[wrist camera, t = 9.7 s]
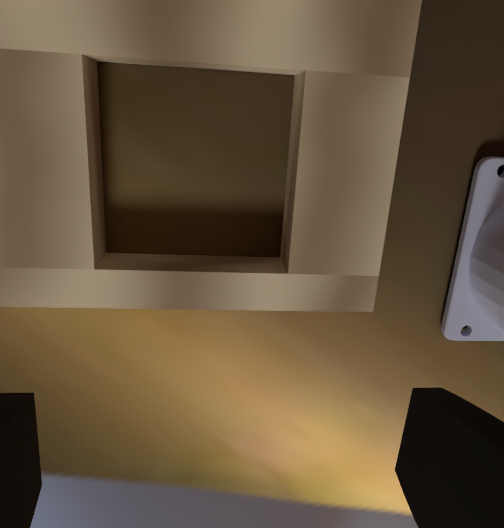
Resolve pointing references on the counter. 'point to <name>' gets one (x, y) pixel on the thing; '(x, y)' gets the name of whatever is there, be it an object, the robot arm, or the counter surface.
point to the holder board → (207, 57)
